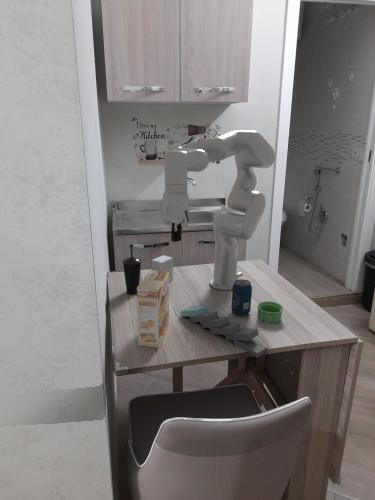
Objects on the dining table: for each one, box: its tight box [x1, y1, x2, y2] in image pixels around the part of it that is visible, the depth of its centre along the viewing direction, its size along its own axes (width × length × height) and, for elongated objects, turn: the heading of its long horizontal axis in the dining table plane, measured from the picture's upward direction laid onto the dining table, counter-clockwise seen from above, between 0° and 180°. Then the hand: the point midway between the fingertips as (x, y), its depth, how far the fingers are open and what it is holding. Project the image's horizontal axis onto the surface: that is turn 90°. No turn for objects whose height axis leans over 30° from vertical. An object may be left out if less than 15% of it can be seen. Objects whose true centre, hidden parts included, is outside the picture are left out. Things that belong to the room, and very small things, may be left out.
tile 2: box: [189, 310, 220, 323], centre depth 126 cm, size 5×2×9 cm
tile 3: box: [199, 315, 231, 329], centre depth 122 cm, size 5×2×9 cm
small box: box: [151, 254, 174, 282], centre depth 160 cm, size 8×6×10 cm
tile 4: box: [209, 322, 242, 336], centre depth 119 cm, size 5×2×9 cm
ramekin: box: [256, 300, 284, 324], centre depth 131 cm, size 9×9×4 cm
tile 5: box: [224, 328, 259, 341], centre depth 116 cm, size 5×2×9 cm
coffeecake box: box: [136, 269, 170, 349], centre depth 117 cm, size 15×7×20 cm, turn 171°
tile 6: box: [233, 338, 269, 358], centre depth 114 cm, size 5×2×9 cm
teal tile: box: [180, 305, 209, 318], centre depth 130 cm, size 5×2×9 cm
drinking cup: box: [121, 244, 143, 295], centre depth 147 cm, size 8×8×20 cm
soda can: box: [230, 278, 253, 317], centre depth 133 cm, size 7×7×12 cm
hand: (176, 240), depth 130 cm, fingers closed
